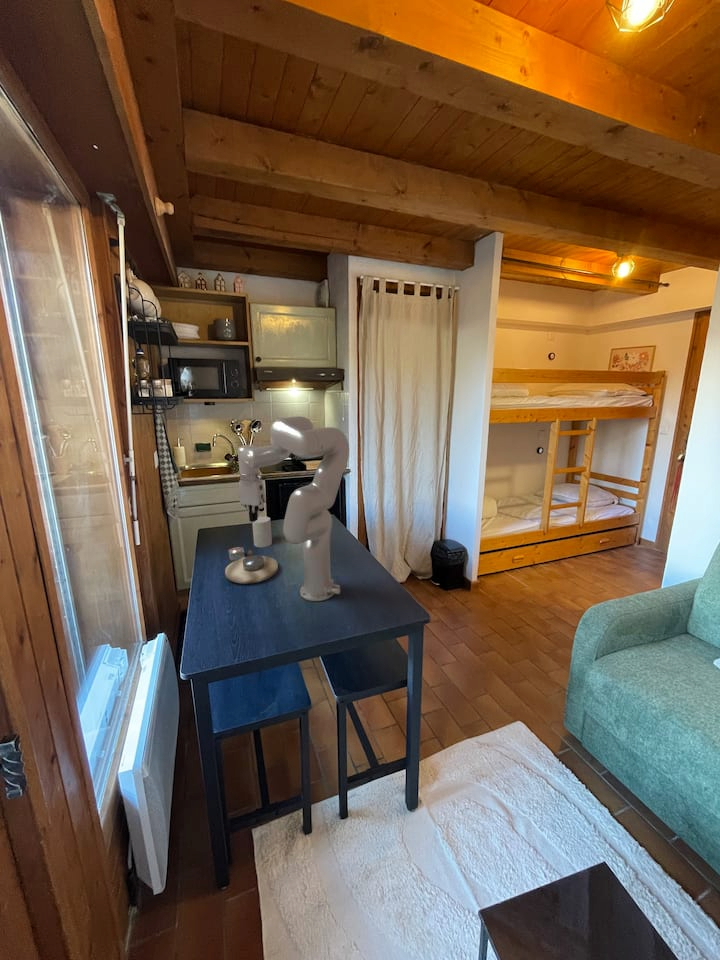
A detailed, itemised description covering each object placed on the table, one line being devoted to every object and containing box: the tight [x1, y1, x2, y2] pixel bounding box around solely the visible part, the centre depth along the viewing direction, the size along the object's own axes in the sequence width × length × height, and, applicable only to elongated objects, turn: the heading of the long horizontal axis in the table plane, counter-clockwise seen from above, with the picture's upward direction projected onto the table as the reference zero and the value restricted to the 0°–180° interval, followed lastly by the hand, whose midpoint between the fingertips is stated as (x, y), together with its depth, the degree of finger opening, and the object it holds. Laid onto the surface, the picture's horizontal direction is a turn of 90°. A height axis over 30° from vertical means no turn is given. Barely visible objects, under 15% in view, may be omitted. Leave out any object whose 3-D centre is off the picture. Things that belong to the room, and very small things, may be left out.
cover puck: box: [243, 554, 264, 572], centre depth 150 cm, size 8×8×3 cm
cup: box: [251, 515, 273, 548], centre depth 176 cm, size 8×8×12 cm
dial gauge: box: [228, 546, 246, 562], centre depth 164 cm, size 6×5×4 cm
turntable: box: [224, 549, 279, 585], centre depth 150 cm, size 20×20×4 cm
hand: (253, 520), depth 154 cm, fingers closed
